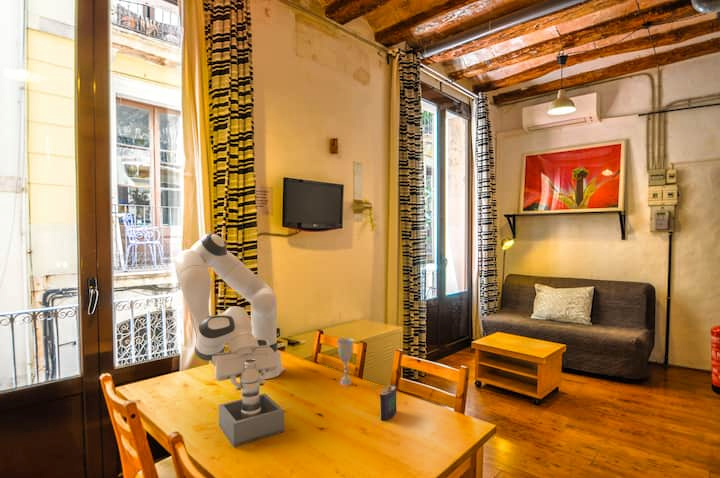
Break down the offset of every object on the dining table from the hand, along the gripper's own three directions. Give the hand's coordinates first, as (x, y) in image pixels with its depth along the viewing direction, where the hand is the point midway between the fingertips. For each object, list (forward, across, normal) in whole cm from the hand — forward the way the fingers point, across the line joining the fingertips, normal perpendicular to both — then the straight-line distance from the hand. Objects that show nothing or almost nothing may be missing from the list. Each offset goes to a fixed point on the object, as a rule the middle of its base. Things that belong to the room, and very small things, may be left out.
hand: (250, 387), depth 129 cm
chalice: (-4, +44, +24) cm, 51 cm away
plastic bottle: (+8, 0, +9) cm, 12 cm away
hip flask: (+20, +44, 0) cm, 48 cm away
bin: (+9, 0, +10) cm, 14 cm away
